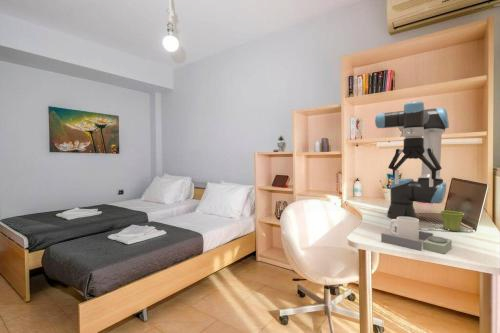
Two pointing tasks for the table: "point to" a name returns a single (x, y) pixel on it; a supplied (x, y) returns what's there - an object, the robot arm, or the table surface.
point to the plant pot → (452, 220)
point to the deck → (420, 242)
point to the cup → (406, 227)
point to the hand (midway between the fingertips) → (413, 185)
